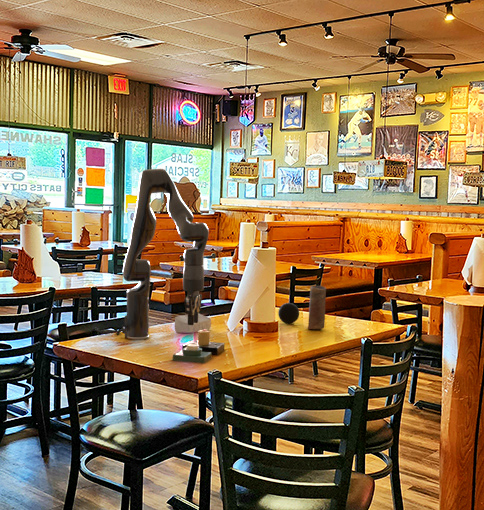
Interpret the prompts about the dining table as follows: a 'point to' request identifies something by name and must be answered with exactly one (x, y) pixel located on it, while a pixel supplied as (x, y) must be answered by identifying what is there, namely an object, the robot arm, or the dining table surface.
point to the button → (192, 347)
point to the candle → (317, 307)
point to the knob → (203, 337)
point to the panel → (208, 347)
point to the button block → (192, 356)
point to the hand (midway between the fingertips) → (192, 323)
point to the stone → (183, 326)
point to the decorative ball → (288, 313)
